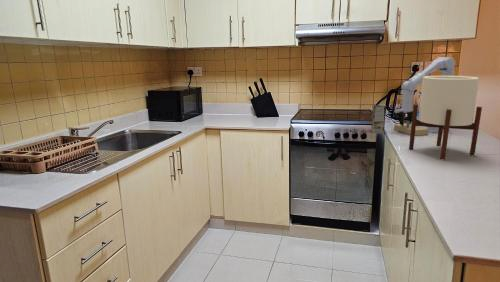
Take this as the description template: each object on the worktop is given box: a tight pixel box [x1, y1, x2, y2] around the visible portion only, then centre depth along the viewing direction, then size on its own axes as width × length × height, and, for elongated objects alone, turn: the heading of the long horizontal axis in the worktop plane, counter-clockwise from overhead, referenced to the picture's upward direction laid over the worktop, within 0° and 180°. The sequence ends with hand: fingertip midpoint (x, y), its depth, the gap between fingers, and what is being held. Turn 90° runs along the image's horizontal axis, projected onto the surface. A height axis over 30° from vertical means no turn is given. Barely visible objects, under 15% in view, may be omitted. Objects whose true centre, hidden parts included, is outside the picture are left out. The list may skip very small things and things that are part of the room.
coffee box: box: [371, 104, 387, 135], centre depth 208 cm, size 9×6×16 cm
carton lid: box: [393, 119, 428, 131], centre depth 206 cm, size 10×18×5 cm, turn 11°
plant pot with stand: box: [408, 75, 483, 160], centre depth 162 cm, size 22×22×36 cm
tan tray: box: [393, 124, 429, 137], centre depth 207 cm, size 10×18×3 cm, turn 11°
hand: (405, 124), depth 206 cm, fingers open, 5 cm apart
